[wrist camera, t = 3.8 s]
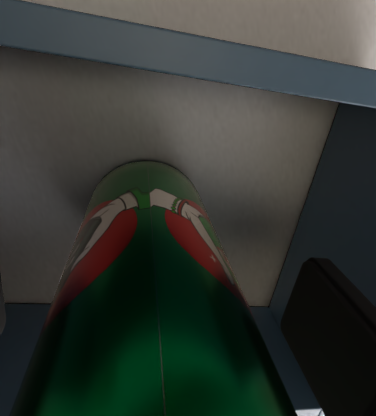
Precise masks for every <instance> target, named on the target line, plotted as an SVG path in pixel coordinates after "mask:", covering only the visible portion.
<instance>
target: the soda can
mask: <svg viewBox="0 0 376 416" xmlns="http://www.w3.org/2000/svg"><path fill="white" fill-rule="evenodd" d="M9 416H298V415H297V413H296V410H295V408H294V406H293V404H292V402H291V399H290V397H289V395H288V393H287V390H286V388H285V386H284V384H283V382H282V379H281V377H280V375H279V373H278V370H277V368H276V366H275V364H274V362H273V359H272V357H271V355H270V353H269V350H268V348H267V346H266V344H265V341H264V339H263V337H262V335H261V333H260V330H259V328H258V326H257V324H256V321H255V319H254V317H253V315H252V313H251V310H250V308H249V306H248V304H247V301H246V299H245V297H244V295H243V292H242V290H241V288H240V286H239V284H238V281H237V279H236V277H235V275H234V272H233V270H232V268H231V266H230V264H229V261H228V259H227V257H226V255H225V252H224V250H223V248H222V246H221V243H220V241H219V239H218V237H217V235H216V232H215V230H214V228H213V226H212V223H211V221H210V219H209V217H208V215H207V212H206V210H205V208H204V206H203V203H202V201H201V199H200V197H199V194H198V192H197V190H196V189H195V187H194V185H193V184H192V182H191V181H190V180H189V179H188V178H187V177H186V176H185V175H184V174H183V173H181V172H180V171H178V170H177V169H175V168H173V167H171V166H169V165H166V164H163V163H159V162H152V161H138V162H133V163H128V164H126V165H123V166H120V167H118V168H116V169H115V170H113V171H111V172H110V173H109V174H108V175H106V176H105V177H104V178H103V179H102V180H101V181H100V183H99V184H98V185H97V187H96V189H95V190H94V192H93V195H92V197H91V200H90V203H89V205H88V208H87V211H86V213H85V216H84V218H83V221H82V224H81V226H80V229H79V232H78V234H77V237H76V240H75V242H74V245H73V248H72V250H71V253H70V256H69V258H68V261H67V263H66V266H65V269H64V271H63V274H62V277H61V279H60V282H59V285H58V287H57V290H56V293H55V295H54V298H53V301H52V303H51V306H50V308H49V311H48V314H47V316H46V319H45V322H44V324H43V327H42V330H41V332H40V335H39V338H38V340H37V343H36V346H35V348H34V351H33V353H32V356H31V359H30V361H29V364H28V367H27V369H26V372H25V375H24V377H23V380H22V383H21V385H20V388H19V391H18V393H17V396H16V398H15V401H14V404H13V406H12V409H11V412H10V414H9Z"/></svg>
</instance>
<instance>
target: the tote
mask: <svg viewBox="0 0 376 416" xmlns="http://www.w3.org/2000/svg"><path fill="white" fill-rule="evenodd" d="M0 46H4V47H10V48H16V49H22V50H28V51H34V52H40V53H46V54H52V55H58V56H64V57H70V58H76V59H82V60H88V61H94V62H100V63H106V64H112V65H118V66H124V67H130V68H136V69H142V70H148V71H154V72H160V73H166V74H172V75H178V76H184V77H190V78H196V79H202V80H208V81H214V82H220V83H226V84H232V85H238V86H244V87H250V88H256V89H262V90H268V91H274V92H280V93H286V94H292V95H298V96H304V97H310V98H316V99H322V100H328V101H334V102H340V105H339V108H338V110H337V113H336V116H335V119H334V122H333V125H332V128H331V131H330V133H329V136H328V139H327V142H326V145H325V148H324V151H323V154H322V156H321V159H320V162H319V165H318V168H317V171H316V174H315V177H314V179H313V182H312V185H311V188H310V191H309V194H308V197H307V200H306V202H305V205H304V208H303V211H302V214H301V217H300V220H299V222H298V225H297V228H296V231H295V234H294V237H293V240H292V243H291V245H290V248H289V251H288V254H287V257H286V260H285V263H284V266H283V268H282V271H281V274H280V277H279V280H278V283H277V286H276V289H275V291H274V294H273V297H272V300H271V303H270V306H269V308H268V307H249V308H250V310H251V313H252V315H253V317H254V319H255V321H256V324H257V326H258V328H259V330H260V333H261V335H262V337H263V339H264V341H265V344H266V346H267V348H268V350H269V353H270V355H271V357H272V359H273V362H274V364H275V366H276V368H277V370H278V373H279V375H280V377H281V379H282V382H283V384H284V386H285V388H286V390H287V393H288V395H289V397H290V399H291V402H292V404H293V406H294V408H295V410H296V413H297V415H298V416H325V415H324V413H323V411H322V409H321V407H320V405H319V403H318V401H317V399H316V397H315V395H314V393H313V391H312V390H311V388H310V386H309V384H308V382H307V380H306V378H305V376H304V374H303V372H302V370H301V368H300V366H299V364H298V362H297V361H296V359H295V357H294V355H293V353H292V351H291V349H290V347H289V345H288V343H287V341H286V339H285V337H284V335H283V333H282V331H281V326H280V323H281V319H282V316H283V314H284V311H285V308H286V306H287V303H288V300H289V298H290V295H291V292H292V290H293V287H294V284H295V282H296V279H297V276H298V274H299V271H300V268H301V266H302V264H303V262H305V261H307V260H308V259H309V258H311V257H315V258H328V259H329V260H331V261H332V262H333V263H334V264H335V265H336V267H337V268H338V269H339V270H340V271H341V272H342V273H343V274H344V275H345V276H346V277H347V278H348V279H349V280H350V281H351V282H352V283H353V284H354V285H355V286H356V287H357V288H358V289H359V290H360V291H361V292H362V293H363V295H364V296H365V297H366V298H367V299H368V300H369V301H370V302H371V303H372V304H373V305H374V306H375V307H376V70H373V69H368V68H363V67H358V66H353V65H347V64H342V63H337V62H332V61H327V60H322V59H317V58H312V57H307V56H302V55H297V54H291V53H286V52H281V51H276V50H271V49H266V48H261V47H256V46H251V45H246V44H241V43H235V42H230V41H225V40H220V39H215V38H210V37H205V36H200V35H195V34H190V33H185V32H179V31H174V30H169V29H164V28H159V27H154V26H149V25H144V24H139V23H134V22H128V21H123V20H118V19H113V18H108V17H103V16H98V15H93V14H88V13H83V12H78V11H72V10H67V9H62V8H57V7H52V6H47V5H42V4H37V3H32V2H27V1H22V0H0ZM4 305H5V312H6V323H5V327H4V330H3V332H2V334H1V335H0V416H9V414H10V412H11V409H12V406H13V404H14V401H15V398H16V396H17V393H18V391H19V388H20V385H21V383H22V380H23V377H24V375H25V372H26V369H27V367H28V364H29V361H30V359H31V356H32V353H33V351H34V348H35V346H36V343H37V340H38V338H39V335H40V332H41V330H42V327H43V324H44V322H45V319H46V316H47V314H48V311H49V308H50V306H51V304H4Z"/></svg>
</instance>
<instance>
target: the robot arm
mask: <svg viewBox="0 0 376 416" xmlns="http://www.w3.org/2000/svg"><path fill="white" fill-rule="evenodd" d="M5 323H6V312H5V305H4V297H3V290H2V283H1V275H0V335H1V334H2V332H3V330H4V327H5ZM280 326H281V331H282V333H283V335H284V337H285V339H286V341H287V343H288V345H289V347H290V349H291V351H292V353H293V355H294V357H295V359H296V361H297V362H298V364H299V366H300V368H301V370H302V372H303V374H304V376H305V378H306V380H307V382H308V384H309V386H310V388H311V390H312V391H313V393H314V395H315V397H316V399H317V401H318V403H319V405H320V407H321V409H322V411H323V413H324V415H325V416H376V307H375V306H374V305H373V304H372V303H371V302H370V301H369V300H368V299H367V298H366V297H365V296H364V295H363V293H362V292H361V291H360V290H359V289H358V288H357V287H356V286H355V285H354V284H353V283H352V282H351V281H350V280H349V279H348V278H347V277H346V276H345V275H344V274H343V273H342V272H341V271H340V270H339V269H338V268H337V267H336V265H335V264H334V263H333V262H332V261H331V260H329V259H328V258H315V257H311V258H309V259H308V260H307V261H305V262H303V264H302V266H301V268H300V271H299V274H298V276H297V279H296V282H295V284H294V287H293V290H292V292H291V295H290V298H289V300H288V303H287V306H286V308H285V311H284V314H283V316H282V319H281V323H280Z"/></svg>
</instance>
